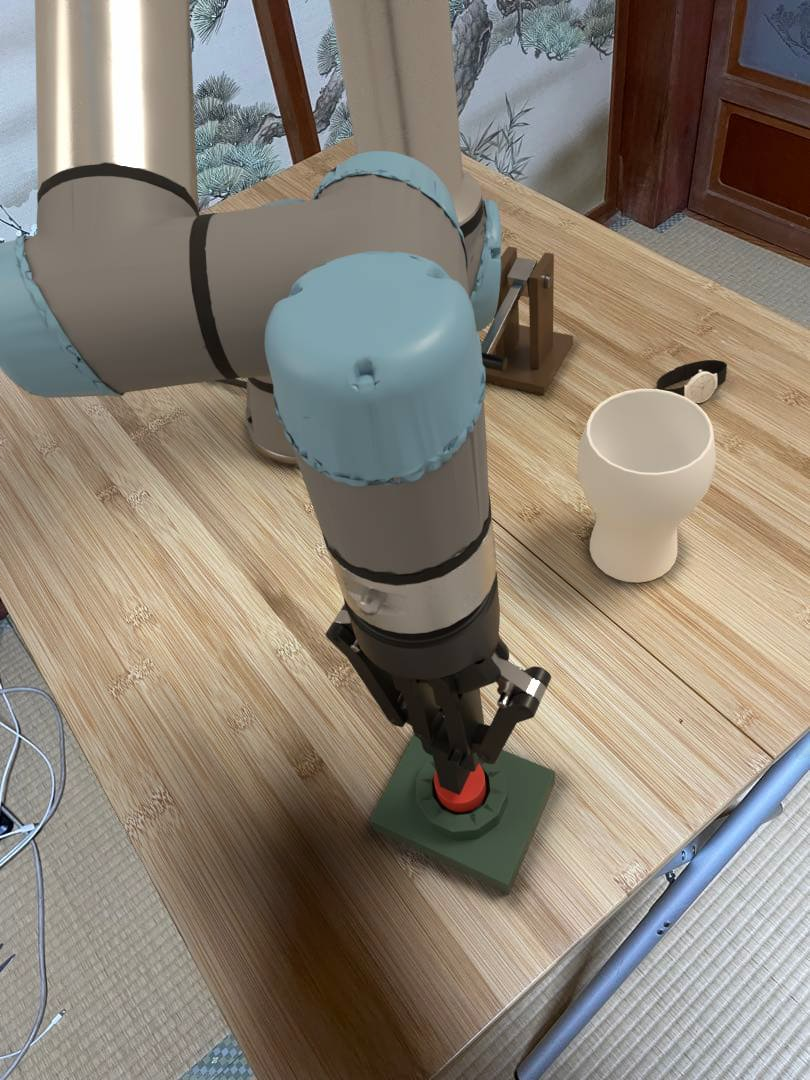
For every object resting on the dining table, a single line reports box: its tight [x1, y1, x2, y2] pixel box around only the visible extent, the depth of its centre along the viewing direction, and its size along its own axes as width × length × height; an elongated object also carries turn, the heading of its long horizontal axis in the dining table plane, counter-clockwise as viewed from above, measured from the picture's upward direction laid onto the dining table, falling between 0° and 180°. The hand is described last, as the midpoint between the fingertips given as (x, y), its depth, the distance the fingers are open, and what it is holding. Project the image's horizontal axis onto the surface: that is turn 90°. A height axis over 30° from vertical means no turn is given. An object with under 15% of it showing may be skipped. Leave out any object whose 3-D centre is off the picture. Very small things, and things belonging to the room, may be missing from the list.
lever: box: [481, 256, 538, 372], centre depth 83 cm, size 13×5×2 cm, turn 153°
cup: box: [576, 388, 717, 584], centre depth 70 cm, size 11×11×15 cm
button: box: [434, 764, 486, 812], centre depth 60 cm, size 4×4×2 cm
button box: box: [369, 734, 556, 895], centre depth 62 cm, size 11×9×4 cm
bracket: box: [485, 246, 574, 396], centre depth 89 cm, size 9×8×13 cm
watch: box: [656, 359, 728, 404], centre depth 86 cm, size 8×5×4 cm, turn 112°
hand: (458, 773), depth 58 cm, fingers closed
